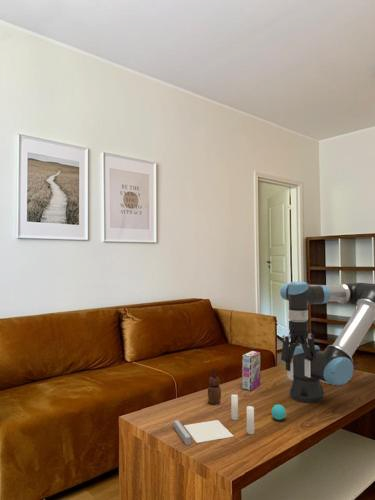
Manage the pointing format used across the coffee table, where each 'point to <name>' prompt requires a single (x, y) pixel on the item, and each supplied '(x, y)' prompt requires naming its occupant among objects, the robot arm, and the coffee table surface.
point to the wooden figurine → (214, 389)
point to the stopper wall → (182, 432)
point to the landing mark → (207, 431)
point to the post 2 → (250, 420)
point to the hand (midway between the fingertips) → (298, 377)
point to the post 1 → (234, 407)
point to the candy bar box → (250, 370)
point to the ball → (278, 412)
